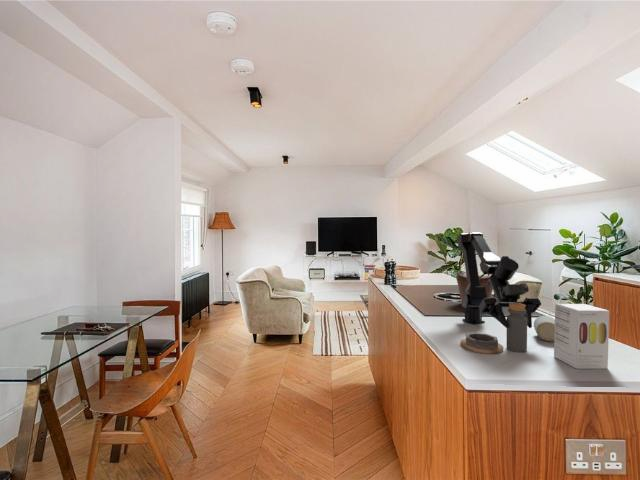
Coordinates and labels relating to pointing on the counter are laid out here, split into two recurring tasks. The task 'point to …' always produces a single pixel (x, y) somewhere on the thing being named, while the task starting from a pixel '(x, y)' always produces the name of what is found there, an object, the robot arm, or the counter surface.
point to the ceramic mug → (545, 327)
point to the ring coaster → (495, 351)
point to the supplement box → (581, 335)
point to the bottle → (517, 328)
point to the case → (463, 283)
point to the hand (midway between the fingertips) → (519, 327)
